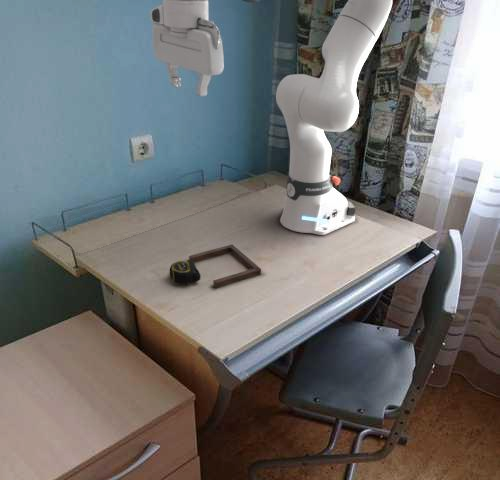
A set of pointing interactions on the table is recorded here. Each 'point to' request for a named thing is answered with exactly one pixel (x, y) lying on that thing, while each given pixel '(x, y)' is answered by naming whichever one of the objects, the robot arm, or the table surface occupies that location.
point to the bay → (238, 254)
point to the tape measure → (184, 272)
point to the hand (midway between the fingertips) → (188, 90)
